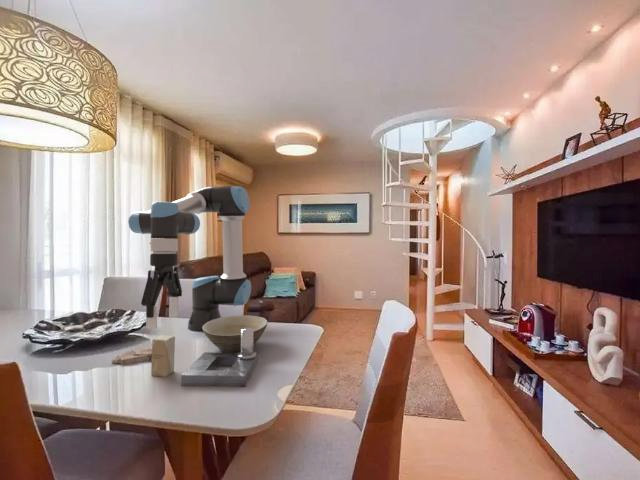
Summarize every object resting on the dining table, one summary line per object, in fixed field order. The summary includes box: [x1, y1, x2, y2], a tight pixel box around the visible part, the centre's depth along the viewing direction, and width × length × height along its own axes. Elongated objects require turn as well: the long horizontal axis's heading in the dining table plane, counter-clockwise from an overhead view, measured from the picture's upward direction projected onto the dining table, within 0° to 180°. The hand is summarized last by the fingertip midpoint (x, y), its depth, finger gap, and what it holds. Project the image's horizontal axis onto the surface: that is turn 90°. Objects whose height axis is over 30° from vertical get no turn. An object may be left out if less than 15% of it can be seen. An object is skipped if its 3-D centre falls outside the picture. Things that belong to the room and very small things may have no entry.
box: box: [150, 334, 176, 377], centre depth 99 cm, size 5×4×11 cm
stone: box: [111, 347, 152, 365], centre depth 111 cm, size 12×12×3 cm
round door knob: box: [237, 327, 257, 360], centre depth 106 cm, size 6×6×12 cm
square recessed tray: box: [180, 351, 259, 388], centre depth 100 cm, size 18×18×3 cm
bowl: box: [202, 314, 268, 353], centre depth 122 cm, size 24×24×10 cm
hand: (163, 322), depth 99 cm, fingers open, 13 cm apart
